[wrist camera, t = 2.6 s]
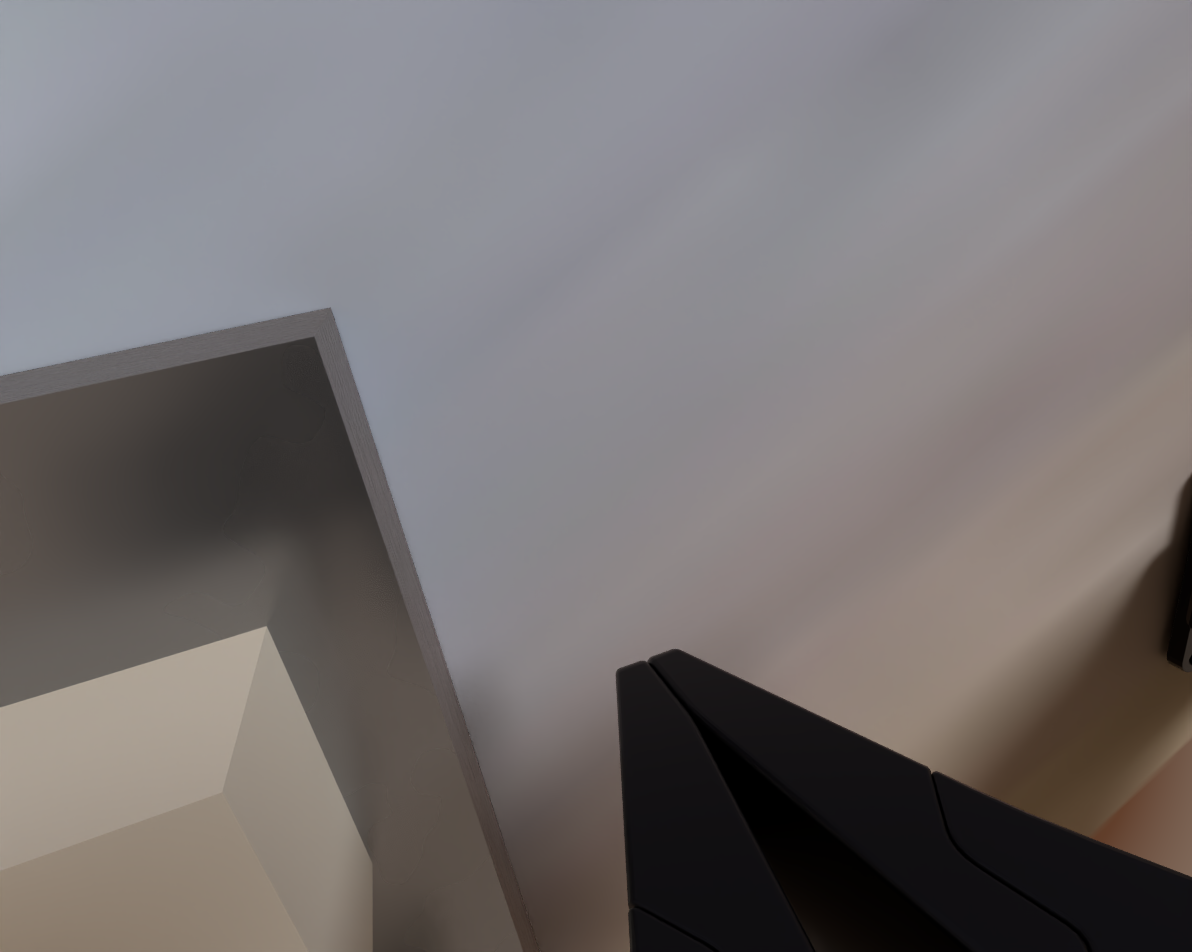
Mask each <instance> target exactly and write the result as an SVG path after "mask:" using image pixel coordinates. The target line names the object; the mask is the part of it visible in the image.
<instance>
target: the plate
mask: <svg viewBox="0 0 1192 952" xmlns="http://www.w3.org/2000/svg"><path fill="white" fill-rule="evenodd" d="M266 626H267V628H268V630H269V632H270V635H271V637H272V639H273V641H274V644H275V646H276V648H277V650H278V653H279V655H280V657H281V659H282V662H283V664H284V666H285V668H286V671H287V673H288V675H289V677H290V680H291V682H292V684H293V686H294V689H295V691H296V693H297V695H298V698H299V700H300V702H301V704H302V706H303V709H304V711H305V713H306V715H307V718H308V720H309V722H310V724H311V727H312V729H313V731H314V733H315V736H316V738H317V740H318V742H319V745H320V747H321V749H322V751H323V754H324V756H325V758H326V760H327V763H328V765H329V767H330V769H331V772H332V774H333V776H334V778H335V781H336V783H337V785H338V787H339V790H340V792H341V794H342V796H343V799H344V801H345V803H346V805H347V808H348V810H349V812H350V814H351V817H352V819H353V821H354V823H355V826H356V828H357V830H358V832H359V835H360V837H361V839H362V841H363V844H364V846H365V848H366V850H367V853H368V855H369V857H370V859H371V862H372V872H373V952H539V949H538V946H537V943H536V939H535V936H534V933H533V930H532V927H531V924H530V921H529V918H528V915H527V912H526V909H525V905H524V902H523V899H522V896H521V893H520V890H519V887H518V884H517V881H516V878H515V875H514V872H513V868H512V865H511V862H510V859H509V856H508V853H507V850H506V847H505V844H504V841H503V838H502V835H501V831H500V828H499V825H498V822H497V819H496V816H495V813H494V810H493V807H492V804H491V801H490V798H489V794H488V791H487V788H486V785H485V782H484V779H483V776H482V773H481V770H480V767H479V764H478V760H477V757H476V754H475V751H474V748H473V745H472V742H471V739H470V736H469V733H468V730H467V727H466V723H465V720H464V717H463V714H462V711H461V708H460V705H459V702H458V699H457V696H456V693H455V690H454V686H453V683H452V680H451V677H450V674H449V671H448V668H447V665H446V662H445V659H444V656H443V653H442V649H441V646H440V643H439V640H438V637H437V634H436V631H435V628H434V625H433V622H432V619H431V615H430V612H429V609H428V606H427V603H426V600H425V597H424V594H423V591H422V588H421V585H420V582H419V578H418V575H417V572H416V569H415V566H414V563H413V560H412V557H411V554H410V551H409V548H408V545H407V541H406V538H405V535H404V532H403V529H402V526H401V523H400V520H399V517H398V514H397V511H396V508H395V504H394V501H393V498H392V495H391V492H390V489H389V486H388V483H387V480H386V477H385V474H384V470H383V467H382V464H381V461H380V458H379V455H378V452H377V449H376V446H375V443H374V440H373V437H372V433H371V430H370V427H369V424H368V421H367V418H366V415H365V412H364V409H363V406H362V403H361V400H360V396H359V393H358V390H357V387H356V384H355V381H354V378H353V375H352V372H351V369H350V366H349V363H348V359H347V356H346V353H345V350H344V347H343V344H342V341H341V338H340V335H339V332H338V329H337V325H336V322H335V319H334V316H333V313H332V310H331V308H326V309H321V310H316V311H311V312H307V313H302V314H297V315H292V316H287V317H283V318H278V319H273V320H268V321H263V322H258V323H254V324H249V325H244V326H239V327H234V328H230V329H225V330H220V331H215V332H210V333H206V334H201V335H196V336H191V337H186V338H181V339H177V340H172V341H167V342H162V343H157V344H153V345H148V346H143V347H138V348H133V349H129V350H124V351H119V352H114V353H109V354H104V355H100V356H95V357H90V358H85V359H80V360H76V361H71V362H66V363H61V364H56V365H52V366H47V367H42V368H37V369H32V370H27V371H23V372H18V373H13V374H8V375H3V376H0V708H1V707H4V706H7V705H10V704H14V703H17V702H20V701H23V700H27V699H30V698H33V697H37V696H40V695H43V694H46V693H50V692H53V691H56V690H59V689H63V688H66V687H69V686H73V685H76V684H79V683H82V682H86V681H89V680H92V679H95V678H99V677H102V676H105V675H109V674H112V673H115V672H118V671H122V670H125V669H128V668H131V667H135V666H138V665H141V664H145V663H148V662H151V661H154V660H158V659H161V658H164V657H167V656H171V655H174V654H177V653H180V652H184V651H187V650H190V649H194V648H197V647H200V646H203V645H207V644H210V643H213V642H216V641H220V640H223V639H226V638H230V637H233V636H236V635H239V634H243V633H246V632H249V631H252V630H256V629H259V628H262V627H266Z"/></svg>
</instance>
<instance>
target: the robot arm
mask: <svg viewBox="0 0 1192 952" xmlns="http://www.w3.org/2000/svg"><path fill="white" fill-rule="evenodd" d="M1167 661H1168V662H1169V663H1170V664H1172V665H1174V666H1176V667H1177V668H1179V669H1181V670H1183V671H1185V672H1191V671H1192V539H1191V543H1190V548H1189V553H1188V558H1187V562H1186V567H1185V572H1184V577H1183V581H1182V586H1181V591H1180V596H1179V600H1178V605H1177V610H1176V615H1175V619H1174V624H1173V629H1172V634H1171V639H1170V643H1169V648H1168V653H1167ZM616 689H617V708H618V726H619V744H620V763H621V781H622V800H623V818H624V836H625V855H626V873H627V892H628V906H629V913H628V918H629V936H630V952H1192V877H1190V876H1188V875H1185V874H1183V873H1180V872H1177V871H1174V870H1172V869H1170V868H1167V867H1164V866H1161V865H1159V864H1156V863H1154V862H1151V861H1149V860H1146V859H1143V858H1141V857H1138V856H1136V855H1133V854H1130V853H1128V852H1125V851H1123V850H1120V849H1117V848H1115V847H1112V846H1110V845H1107V844H1104V843H1101V842H1099V841H1096V840H1094V839H1092V838H1089V837H1087V836H1084V835H1082V834H1079V833H1077V832H1074V831H1072V830H1069V829H1067V828H1064V827H1062V826H1059V825H1057V824H1054V823H1052V822H1049V821H1047V820H1044V819H1042V818H1040V817H1037V816H1035V815H1032V814H1030V813H1027V812H1025V811H1023V810H1021V809H1018V808H1016V807H1014V806H1012V805H1009V804H1007V803H1005V802H1003V801H1001V800H998V799H996V798H994V797H992V796H989V795H987V794H985V793H983V792H980V791H978V790H976V789H974V788H972V787H969V786H967V785H965V784H963V783H961V782H959V781H957V780H955V779H953V778H950V777H948V776H946V775H944V774H942V773H940V772H938V771H935V772H933V773H932V774H931V771H930V769H929V768H928V767H927V766H925V765H922V764H920V763H918V762H916V761H914V760H912V759H910V758H908V757H905V756H903V755H901V754H899V753H897V752H895V751H893V750H891V749H889V748H886V747H884V746H882V745H880V744H878V743H876V742H874V741H872V740H870V739H867V738H865V737H863V736H861V735H859V734H857V733H855V732H853V731H851V730H848V729H846V728H844V727H842V726H840V725H838V724H836V723H834V722H832V721H829V720H827V719H825V718H823V717H821V716H819V715H817V714H815V713H813V712H810V711H808V710H806V709H804V708H802V707H800V706H798V705H796V704H794V703H791V702H789V701H787V700H785V699H783V698H781V697H779V696H777V695H775V694H772V693H770V692H768V691H766V690H764V689H762V688H760V687H758V686H756V685H753V684H751V683H749V682H747V681H745V680H743V679H741V678H739V677H737V676H734V675H732V674H730V673H728V672H726V671H724V670H722V669H720V668H718V667H715V666H713V665H711V664H709V663H707V662H705V661H703V660H701V659H699V658H696V657H694V656H692V655H690V654H688V653H686V652H684V651H682V650H679V649H672V650H669V651H666V652H663V653H661V654H658V655H655V656H652V657H650V658H649V660H648V662H646V661H638V662H636V663H633V664H630V665H627V666H625V667H622V668H619V669H618V670H617V672H616Z"/></svg>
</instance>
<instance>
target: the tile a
mask: <svg viewBox="0 0 1192 952" xmlns="http://www.w3.org/2000/svg"><path fill="white" fill-rule="evenodd" d="M0 952H373V872H372V862H371V859H370V857H369V855H368V853H367V850H366V848H365V846H364V844H363V841H362V839H361V837H360V835H359V832H358V830H357V828H356V826H355V823H354V821H353V819H352V817H351V814H350V812H349V810H348V808H347V805H346V803H345V801H344V799H343V796H342V794H341V792H340V790H339V787H338V785H337V783H336V781H335V778H334V776H333V774H332V772H331V769H330V767H329V765H328V763H327V760H326V758H325V756H324V754H323V751H322V749H321V747H320V745H319V742H318V740H317V738H316V736H315V733H314V731H313V729H312V727H311V724H310V722H309V720H308V718H307V715H306V713H305V711H304V709H303V706H302V704H301V702H300V700H299V698H298V695H297V693H296V691H295V689H294V686H293V684H292V682H291V680H290V677H289V675H288V673H287V671H286V668H285V666H284V664H283V662H282V659H281V657H280V655H279V653H278V650H277V648H276V646H275V644H274V641H273V639H272V637H271V635H270V632H269V630H268V628H267V626H266V627H262V628H259V629H256V630H252V631H249V632H246V633H243V634H239V635H236V636H233V637H230V638H226V639H223V640H220V641H216V642H213V643H210V644H207V645H203V646H200V647H197V648H194V649H190V650H187V651H184V652H180V653H177V654H174V655H171V656H167V657H164V658H161V659H158V660H154V661H151V662H148V663H145V664H141V665H138V666H135V667H131V668H128V669H125V670H122V671H118V672H115V673H112V674H109V675H105V676H102V677H99V678H95V679H92V680H89V681H86V682H82V683H79V684H76V685H73V686H69V687H66V688H63V689H59V690H56V691H53V692H50V693H46V694H43V695H40V696H37V697H33V698H30V699H27V700H23V701H20V702H17V703H14V704H10V705H7V706H4V707H1V708H0Z"/></svg>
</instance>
